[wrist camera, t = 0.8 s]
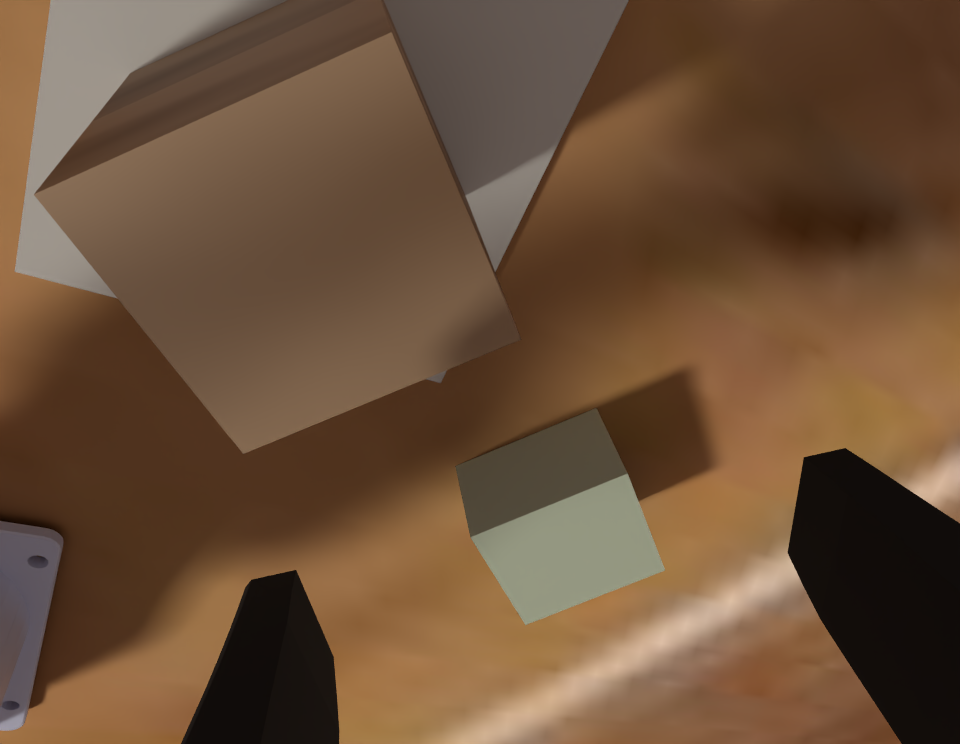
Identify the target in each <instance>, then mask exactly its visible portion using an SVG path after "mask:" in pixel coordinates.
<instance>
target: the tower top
mask: <svg viewBox="0 0 960 744" xmlns="http://www.w3.org/2000/svg"><path fill="white" fill-rule="evenodd" d="M34 196H35V197H36V198H37V199H38V201H39V202H40V203H41V204H42V206H43V207H44V208H45V209H46V210H47V212H48V213H49V214H50V215H51V217H52V218H53V219H54V220H55V222H56V223H57V224H58V225H59V227H60V228H61V229H62V230H63V232H64V233H65V234H66V235H67V236H68V238H69V239H70V240H71V241H72V243H73V244H74V245H75V246H76V248H77V249H78V250H79V251H80V253H81V254H82V255H83V256H84V257H85V259H86V260H87V261H88V262H89V264H90V265H91V266H92V267H93V269H94V270H95V271H96V272H97V274H98V275H99V276H100V277H101V279H102V280H103V281H104V282H105V283H106V285H107V286H108V287H109V288H110V290H111V291H112V292H113V293H114V295H115V296H116V297H117V298H118V300H119V301H120V302H121V303H122V304H123V306H124V307H125V308H126V309H127V311H128V312H129V313H130V314H131V316H132V317H133V318H134V319H135V321H136V322H137V323H138V324H139V326H140V327H141V328H142V329H143V330H144V332H145V333H146V334H147V335H148V337H149V338H150V339H151V340H152V342H153V343H154V344H155V345H156V347H157V348H158V349H159V350H160V351H161V353H162V354H163V355H164V356H165V358H166V359H167V360H168V361H169V363H170V364H171V365H172V366H173V368H174V369H175V370H176V371H177V373H178V374H179V375H180V376H181V377H182V379H183V380H184V381H185V382H186V384H187V385H188V386H189V387H190V389H191V390H192V391H193V392H194V394H195V395H196V396H197V397H198V398H199V400H200V401H201V402H202V403H203V405H204V406H205V407H206V408H207V410H208V411H209V412H210V413H211V415H212V416H213V417H214V418H215V420H216V421H217V422H218V423H219V424H220V426H221V427H222V428H223V429H224V431H225V432H226V433H227V434H228V436H229V437H230V438H231V439H232V441H233V442H234V443H235V444H236V445H237V447H238V448H239V449H240V450H241V452H242V453H243V454H245V453H247V452H249V451H252V450H254V449H257V448H259V447H262V446H264V445H266V444H269V443H271V442H274V441H276V440H279V439H281V438H283V437H286V436H288V435H291V434H293V433H296V432H298V431H300V430H303V429H305V428H308V427H310V426H313V425H315V424H317V423H320V422H322V421H325V420H327V419H330V418H332V417H334V416H337V415H339V414H342V413H344V412H347V411H349V410H351V409H354V408H356V407H359V406H361V405H363V404H366V403H368V402H371V401H373V400H376V399H378V398H380V397H383V396H385V395H388V394H390V393H393V392H395V391H397V390H400V389H402V388H405V387H407V386H410V385H412V384H414V383H417V382H419V381H422V380H424V379H427V378H429V377H431V376H434V375H436V374H439V373H441V372H444V371H446V370H448V369H451V368H453V367H456V366H458V365H461V364H463V363H465V362H468V361H470V360H473V359H475V358H478V357H480V356H482V355H485V354H487V353H490V352H492V351H495V350H497V349H499V348H502V347H504V346H507V345H509V344H512V343H514V342H516V341H519V340H521V337H520V335H519V332H518V330H517V327H516V325H515V322H514V319H513V317H512V314H511V312H510V309H509V307H508V304H507V301H506V299H505V296H504V294H503V291H502V289H501V286H500V283H499V281H498V278H497V276H496V273H495V270H494V268H493V265H492V263H491V260H490V258H489V255H488V253H487V250H486V248H485V246H484V243H483V241H482V238H481V236H480V234H479V231H478V229H477V226H476V224H475V222H474V219H473V217H472V215H471V212H470V210H469V207H468V205H467V203H466V200H465V198H464V195H463V193H462V191H461V188H460V186H459V184H458V181H457V179H456V176H455V174H454V172H453V169H452V167H451V164H450V162H449V160H448V157H447V155H446V153H445V150H444V148H443V145H442V143H441V141H440V138H439V136H438V133H437V131H436V129H435V126H434V124H433V121H432V119H431V117H430V114H429V112H428V110H427V107H426V105H425V102H424V100H423V98H422V95H421V93H420V90H419V88H418V86H417V83H416V81H415V79H414V76H413V74H412V71H411V69H410V67H409V64H408V62H407V59H406V57H405V55H404V52H403V50H402V48H401V45H400V43H399V40H398V38H397V36H396V33H395V31H394V28H393V26H392V24H391V21H390V19H389V17H388V14H387V12H386V9H385V7H384V5H383V2H382V0H355V1H353V2H351V3H349V4H347V5H345V6H342V7H340V8H338V9H336V10H334V11H332V12H329V13H327V14H325V15H323V16H321V17H319V18H316V19H314V20H312V21H310V22H308V23H305V24H303V25H301V26H299V27H297V28H295V29H292V30H290V31H288V32H286V33H284V34H282V35H279V36H277V37H275V38H273V39H271V40H268V41H266V42H264V43H262V44H260V45H258V46H255V47H253V48H251V49H249V50H247V51H245V52H242V53H240V54H238V55H236V56H234V57H231V58H229V59H227V60H225V61H223V62H221V63H218V64H216V65H214V66H212V67H210V68H208V69H205V70H203V71H201V72H199V73H197V74H195V75H192V76H190V77H188V78H186V79H184V80H181V81H179V82H177V83H175V84H173V85H171V86H168V87H166V88H164V89H162V90H160V91H158V92H155V93H153V94H151V95H149V96H147V97H144V98H142V99H140V100H138V101H136V102H134V103H131V104H129V105H127V106H125V107H123V108H121V109H118V110H116V111H114V112H112V113H110V114H107V115H105V116H103V117H101V118H99V119H97V120H94V121H92V122H91V123H90V124H89V126H88V127H87V128H86V129H85V131H84V132H83V133H82V134H81V136H80V137H79V138H78V139H77V141H76V142H75V143H74V144H73V146H72V147H71V148H70V149H69V151H68V152H67V153H66V155H65V156H64V157H63V158H62V160H61V161H60V162H59V163H58V165H57V166H56V167H55V168H54V170H53V171H52V172H51V173H50V175H49V176H48V177H47V178H46V180H45V181H44V182H43V183H42V185H41V186H40V187H39V188H38V190H37V191H36V192H35V193H34Z"/></svg>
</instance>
